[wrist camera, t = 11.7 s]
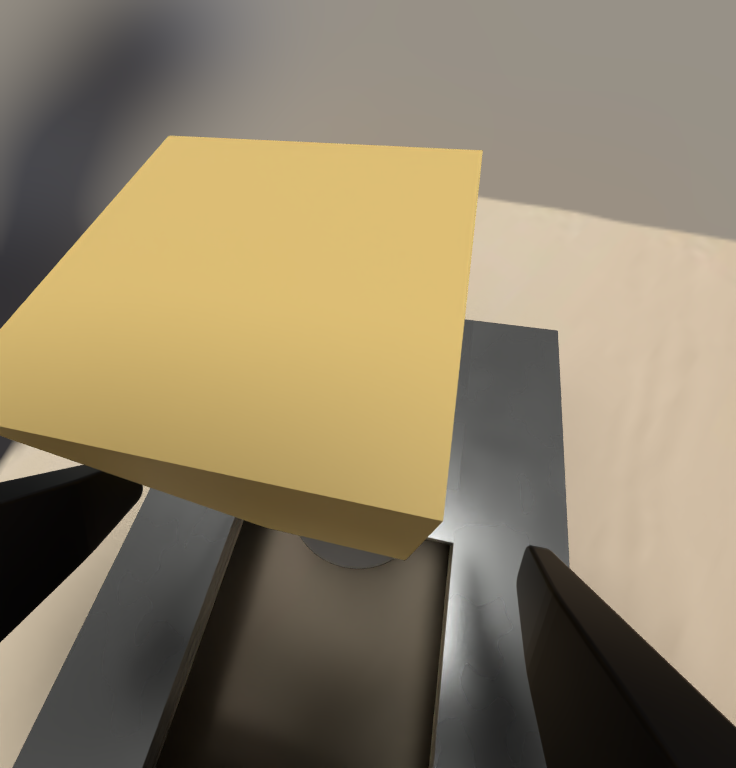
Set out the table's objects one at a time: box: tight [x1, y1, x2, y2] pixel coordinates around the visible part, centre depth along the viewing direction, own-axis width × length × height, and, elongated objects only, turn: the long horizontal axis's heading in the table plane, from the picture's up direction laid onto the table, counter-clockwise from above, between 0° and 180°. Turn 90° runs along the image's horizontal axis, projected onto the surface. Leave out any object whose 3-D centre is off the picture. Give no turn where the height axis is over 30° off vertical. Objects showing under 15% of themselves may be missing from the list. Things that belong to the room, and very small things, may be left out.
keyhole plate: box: [13, 320, 569, 768], centre depth 12 cm, size 20×14×3 cm
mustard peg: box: [0, 136, 482, 569], centre depth 9 cm, size 6×6×13 cm
